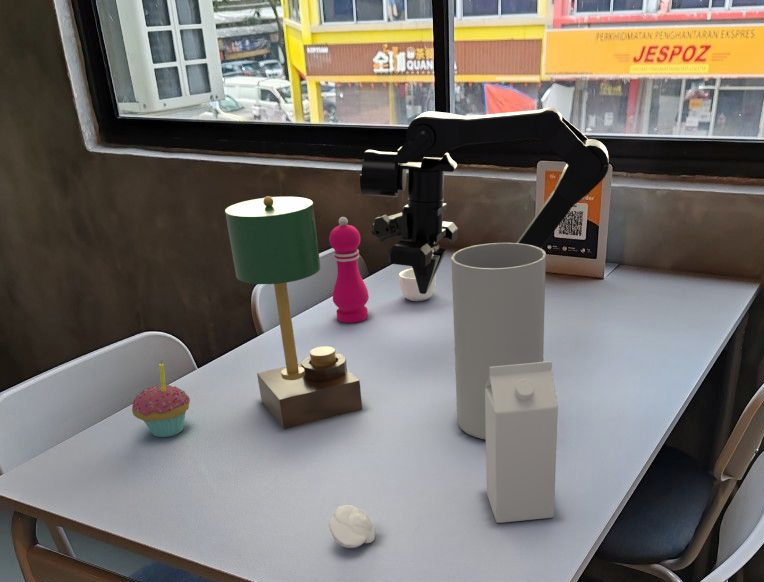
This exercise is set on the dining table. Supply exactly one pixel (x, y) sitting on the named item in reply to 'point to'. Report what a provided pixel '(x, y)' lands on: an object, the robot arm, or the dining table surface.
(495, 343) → the cylinder vase
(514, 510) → the milk carton
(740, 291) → the dining table surface
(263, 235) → the desk lamp
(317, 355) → the button
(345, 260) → the pepper mill
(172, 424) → the cupcake
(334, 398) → the lamp base
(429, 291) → the teacup
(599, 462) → the dining table surface
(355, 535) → the dumpling
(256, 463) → the dining table surface
